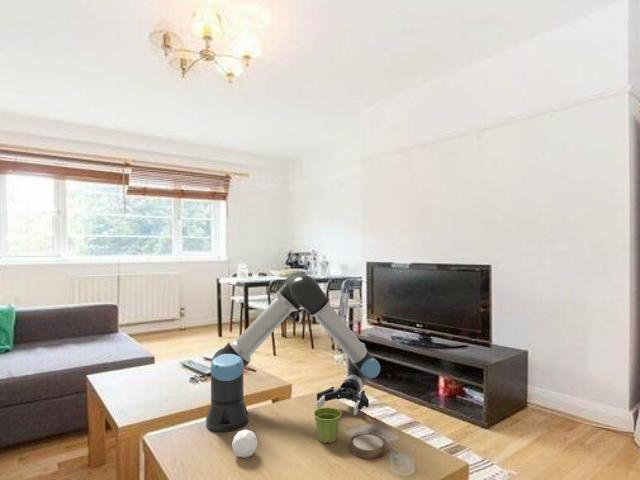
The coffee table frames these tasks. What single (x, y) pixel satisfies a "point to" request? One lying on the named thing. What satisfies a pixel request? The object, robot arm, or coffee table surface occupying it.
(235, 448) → the geometric ball
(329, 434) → the plant pot
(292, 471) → the coffee table surface
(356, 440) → the pedestal
